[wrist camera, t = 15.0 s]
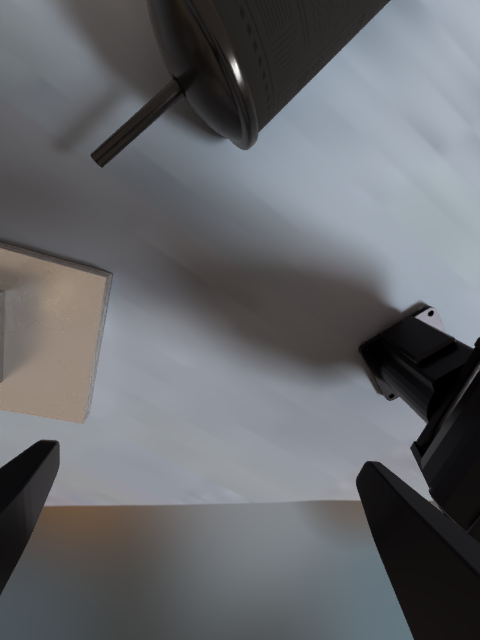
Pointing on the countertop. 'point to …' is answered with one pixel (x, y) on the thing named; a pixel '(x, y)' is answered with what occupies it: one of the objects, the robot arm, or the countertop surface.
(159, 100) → the drinking cup
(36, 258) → the post socket base
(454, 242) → the countertop surface
